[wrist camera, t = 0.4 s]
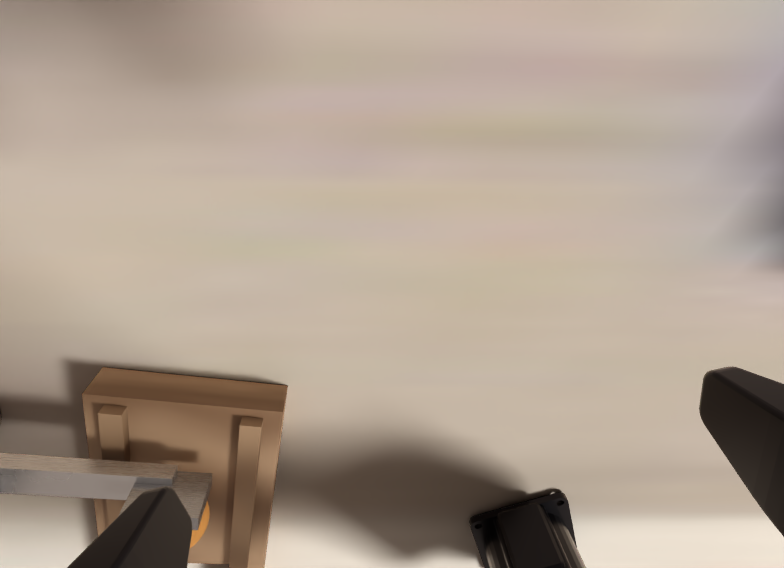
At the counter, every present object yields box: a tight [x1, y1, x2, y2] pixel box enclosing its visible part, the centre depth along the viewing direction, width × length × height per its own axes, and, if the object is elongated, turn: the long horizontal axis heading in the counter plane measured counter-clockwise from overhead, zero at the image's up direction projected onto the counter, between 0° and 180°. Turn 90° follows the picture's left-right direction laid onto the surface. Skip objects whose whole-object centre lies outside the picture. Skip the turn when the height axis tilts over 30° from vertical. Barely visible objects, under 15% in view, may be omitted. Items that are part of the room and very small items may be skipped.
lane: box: [82, 367, 288, 568], centre depth 26 cm, size 20×9×3 cm, turn 168°
